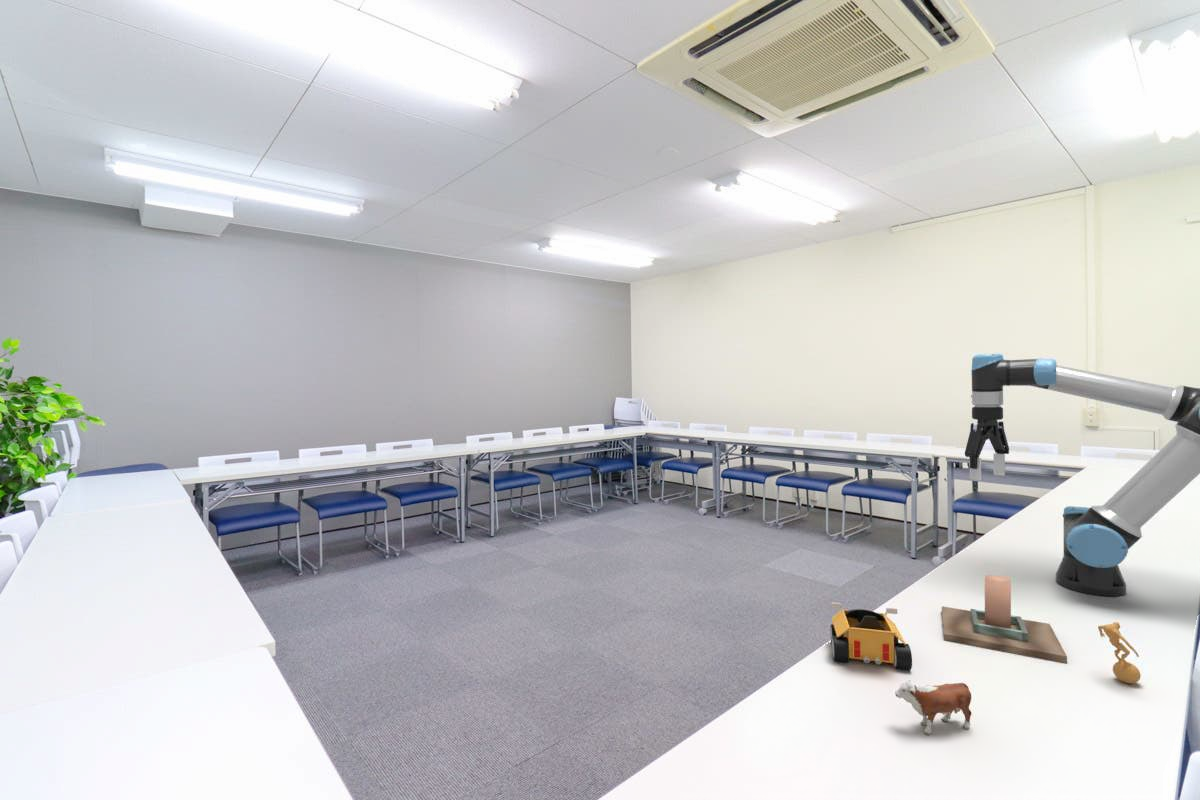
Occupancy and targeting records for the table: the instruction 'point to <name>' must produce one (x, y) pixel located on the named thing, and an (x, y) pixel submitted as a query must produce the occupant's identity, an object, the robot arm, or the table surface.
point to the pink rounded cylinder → (997, 601)
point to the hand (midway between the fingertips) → (987, 477)
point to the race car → (868, 638)
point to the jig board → (1002, 634)
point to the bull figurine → (937, 701)
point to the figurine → (1121, 668)
